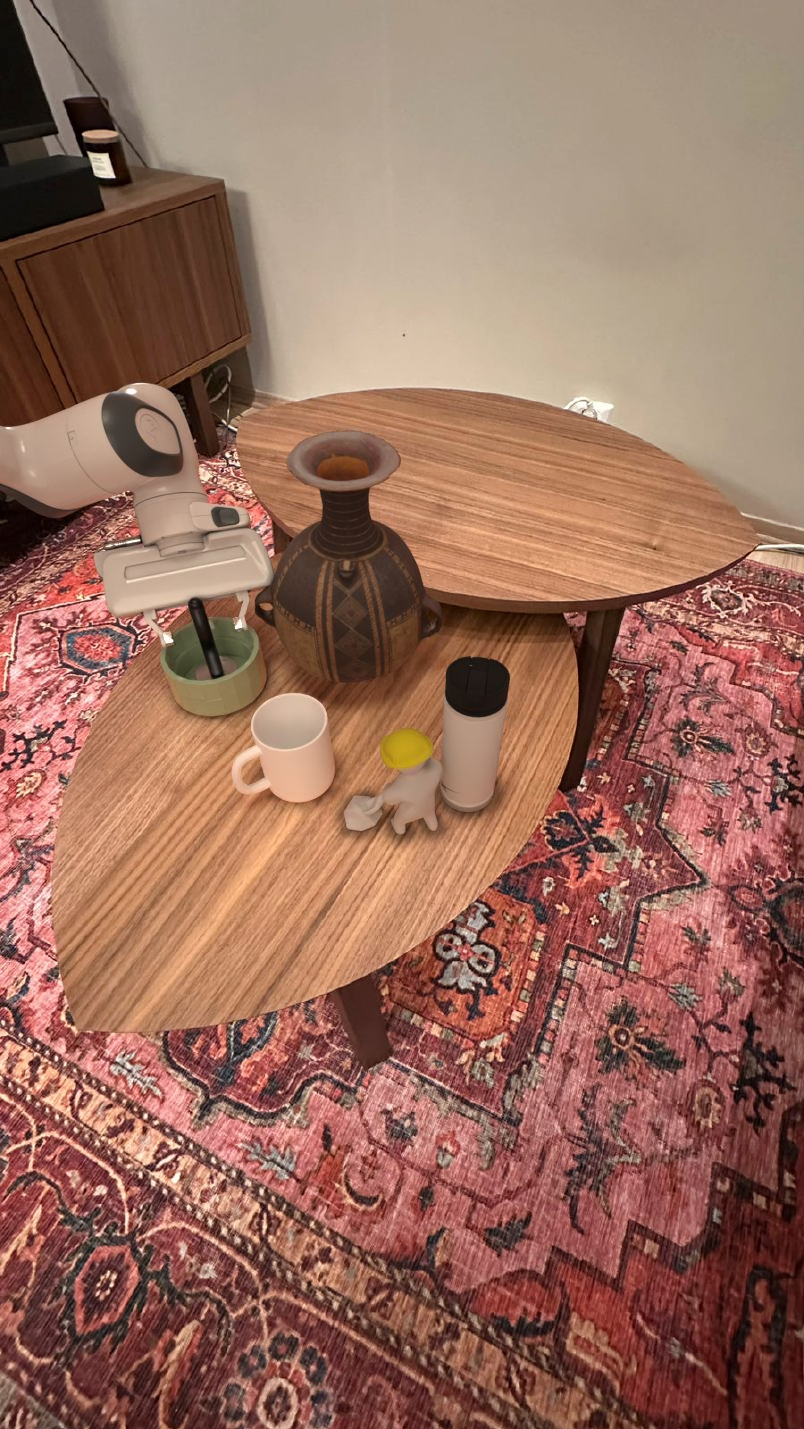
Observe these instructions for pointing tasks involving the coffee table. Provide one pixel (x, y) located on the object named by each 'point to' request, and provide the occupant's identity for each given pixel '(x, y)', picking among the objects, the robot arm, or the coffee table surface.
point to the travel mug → (472, 731)
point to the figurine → (401, 784)
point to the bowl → (222, 691)
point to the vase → (347, 569)
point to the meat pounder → (208, 646)
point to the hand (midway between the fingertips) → (206, 639)
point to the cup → (289, 749)
